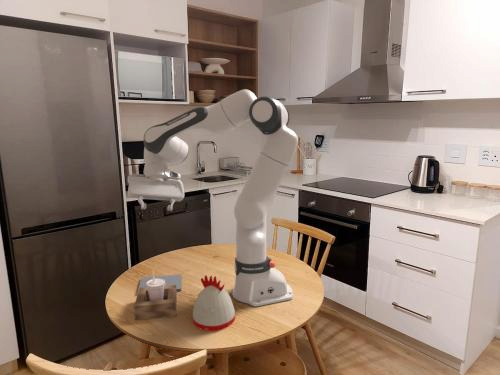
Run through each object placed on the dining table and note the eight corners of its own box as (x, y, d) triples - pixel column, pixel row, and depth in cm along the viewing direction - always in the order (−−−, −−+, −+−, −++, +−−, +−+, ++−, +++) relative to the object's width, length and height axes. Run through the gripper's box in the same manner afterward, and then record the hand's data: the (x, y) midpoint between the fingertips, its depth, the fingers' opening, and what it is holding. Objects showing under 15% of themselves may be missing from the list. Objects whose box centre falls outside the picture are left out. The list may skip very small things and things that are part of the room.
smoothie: (146, 305, 129) (144, 268, 126) (165, 302, 131) (163, 265, 129) (148, 314, 123) (146, 275, 120) (167, 310, 125) (165, 272, 123)
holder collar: (176, 297, 135) (176, 284, 134) (175, 316, 122) (175, 302, 121) (140, 300, 133) (139, 287, 132) (135, 320, 120) (134, 306, 119)
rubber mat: (181, 276, 152) (181, 274, 152) (181, 291, 139) (180, 288, 139) (141, 279, 149) (141, 277, 149) (137, 294, 137) (137, 292, 136)
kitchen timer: (205, 304, 130) (204, 265, 127) (241, 312, 125) (240, 270, 122) (184, 325, 117) (182, 282, 114) (223, 334, 112) (222, 289, 109)
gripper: (129, 168, 131) (128, 204, 125) (184, 174, 140) (186, 207, 134) (126, 177, 136) (125, 211, 130) (179, 182, 145) (181, 214, 139)
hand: (157, 209), depth 132 cm, fingers open, 8 cm apart
